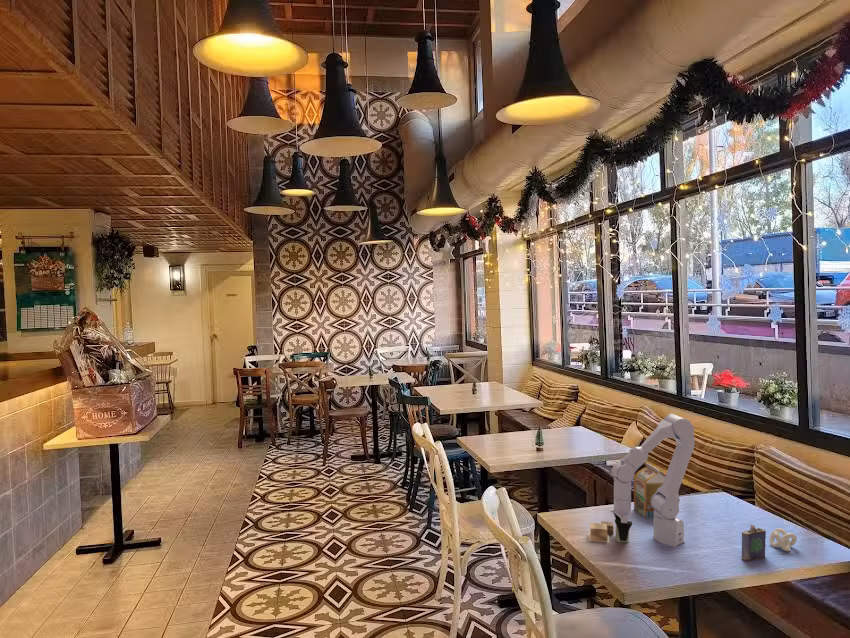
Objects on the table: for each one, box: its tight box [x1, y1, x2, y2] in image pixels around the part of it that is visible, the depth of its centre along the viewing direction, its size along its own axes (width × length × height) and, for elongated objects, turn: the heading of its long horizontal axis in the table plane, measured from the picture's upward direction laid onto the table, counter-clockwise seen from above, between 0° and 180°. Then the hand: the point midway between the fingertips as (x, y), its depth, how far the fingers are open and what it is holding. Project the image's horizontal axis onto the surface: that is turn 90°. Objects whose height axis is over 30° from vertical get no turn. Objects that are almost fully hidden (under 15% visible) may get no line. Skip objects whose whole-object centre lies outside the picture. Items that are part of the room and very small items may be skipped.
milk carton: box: [633, 462, 666, 519], centre depth 234 cm, size 11×11×19 cm
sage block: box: [615, 524, 630, 543], centre depth 207 cm, size 4×4×5 cm
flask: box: [741, 524, 767, 562], centre depth 193 cm, size 9×3×11 cm, turn 109°
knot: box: [768, 527, 798, 552], centre depth 201 cm, size 8×8×6 cm
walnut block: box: [600, 520, 614, 535], centre depth 214 cm, size 4×4×3 cm
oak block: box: [589, 522, 607, 542], centre depth 209 cm, size 6×6×4 cm
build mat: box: [587, 532, 610, 543], centre depth 209 cm, size 14×14×1 cm
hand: (622, 536), depth 207 cm, fingers open, 7 cm apart
